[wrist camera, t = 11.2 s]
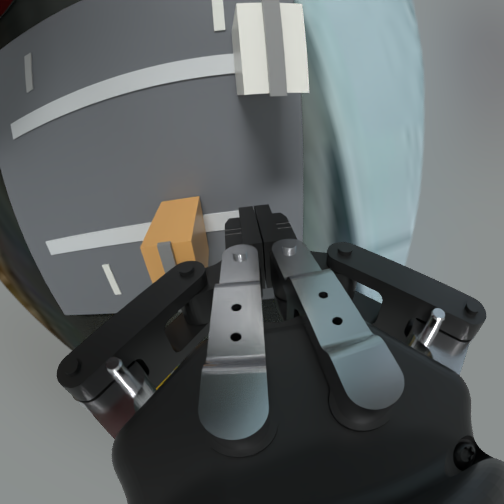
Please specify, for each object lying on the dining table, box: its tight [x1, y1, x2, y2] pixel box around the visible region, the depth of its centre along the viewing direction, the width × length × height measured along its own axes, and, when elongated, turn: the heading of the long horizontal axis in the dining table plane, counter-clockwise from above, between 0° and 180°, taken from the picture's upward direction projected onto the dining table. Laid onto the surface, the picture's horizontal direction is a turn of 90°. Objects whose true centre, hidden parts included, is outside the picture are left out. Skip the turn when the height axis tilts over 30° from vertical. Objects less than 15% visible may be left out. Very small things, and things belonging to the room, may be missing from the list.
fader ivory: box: [232, 0, 309, 96], centre depth 8 cm, size 3×2×5 cm, turn 4°
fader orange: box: [140, 196, 209, 312], centre depth 12 cm, size 3×2×5 cm, turn 4°
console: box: [0, 0, 303, 315], centre depth 12 cm, size 20×18×2 cm
